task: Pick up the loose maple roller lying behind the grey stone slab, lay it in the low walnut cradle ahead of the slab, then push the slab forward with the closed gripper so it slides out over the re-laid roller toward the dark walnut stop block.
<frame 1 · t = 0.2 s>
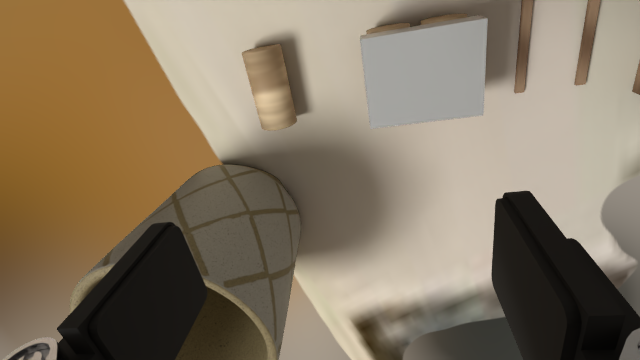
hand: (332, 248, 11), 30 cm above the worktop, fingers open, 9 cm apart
slab: (421, 75, 32), point 6 cm above the worktop, slide at 0.0 cm
bed rollers: (414, 62, 36), on the worktop
roller c: (275, 83, 39), on the worktop
planter: (242, 214, 49), on the worktop
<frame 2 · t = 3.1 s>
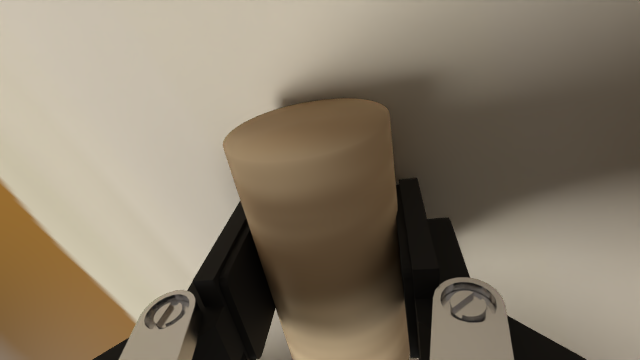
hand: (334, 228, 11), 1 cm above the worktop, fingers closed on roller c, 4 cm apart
roller c: (337, 214, 12), on the worktop, touching gripper
when the fingers open (1 cm above the worktop, at t = 8.5 s): roller c stays where it is, on the worktop.
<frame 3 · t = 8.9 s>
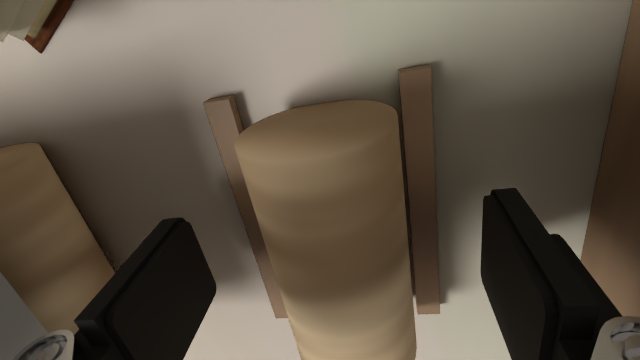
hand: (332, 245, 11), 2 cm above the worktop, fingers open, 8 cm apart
bed rollers: (25, 240, 15), on the worktop
roller c: (336, 215, 12), on the worktop, tilted 7°
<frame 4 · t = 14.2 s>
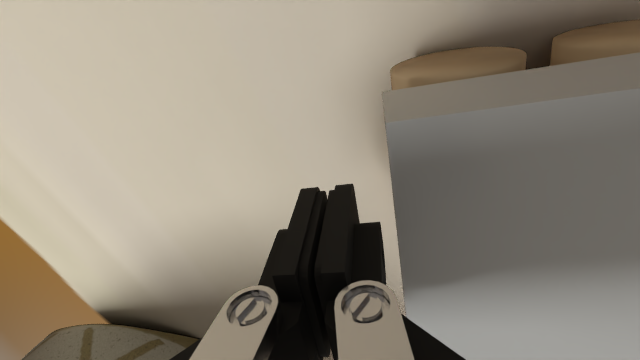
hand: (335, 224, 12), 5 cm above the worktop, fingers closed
slab: (587, 222, 9), point 6 cm above the worktop, slide at 0.2 cm, touching gripper
bed rollers: (510, 142, 14), on the worktop
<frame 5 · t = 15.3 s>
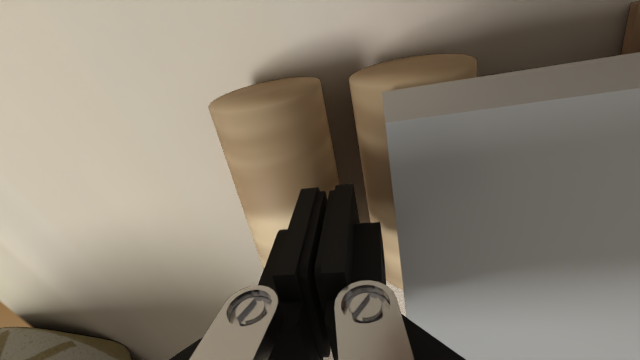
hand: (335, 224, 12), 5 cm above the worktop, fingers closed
slab: (587, 222, 9), point 6 cm above the worktop, slide at 6.5 cm, touching gripper
bed rollers: (353, 161, 16), on the worktop
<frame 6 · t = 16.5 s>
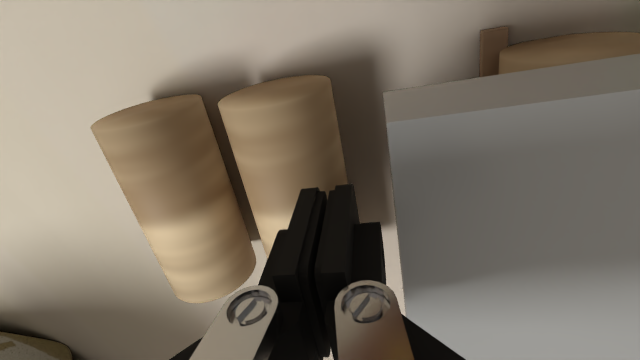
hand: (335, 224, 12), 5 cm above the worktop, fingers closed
slab: (588, 223, 9), point 6 cm above the worktop, slide at 11.2 cm, touching gripper
bed rollers: (253, 172, 16), on the worktop
roller c: (563, 141, 14), on the worktop, tilted 29°, touching bed rollers
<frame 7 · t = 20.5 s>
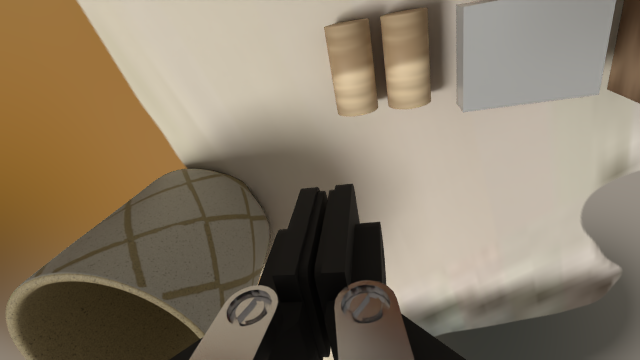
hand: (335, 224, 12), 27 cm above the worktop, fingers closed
slab: (527, 49, 28), point 6 cm above the worktop, slide at 11.4 cm
stop block: (636, 18, 31), on the worktop
bed rollers: (378, 60, 35), on the worktop
planter: (210, 220, 47), on the worktop
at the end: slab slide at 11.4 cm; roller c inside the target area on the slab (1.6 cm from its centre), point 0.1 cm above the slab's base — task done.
